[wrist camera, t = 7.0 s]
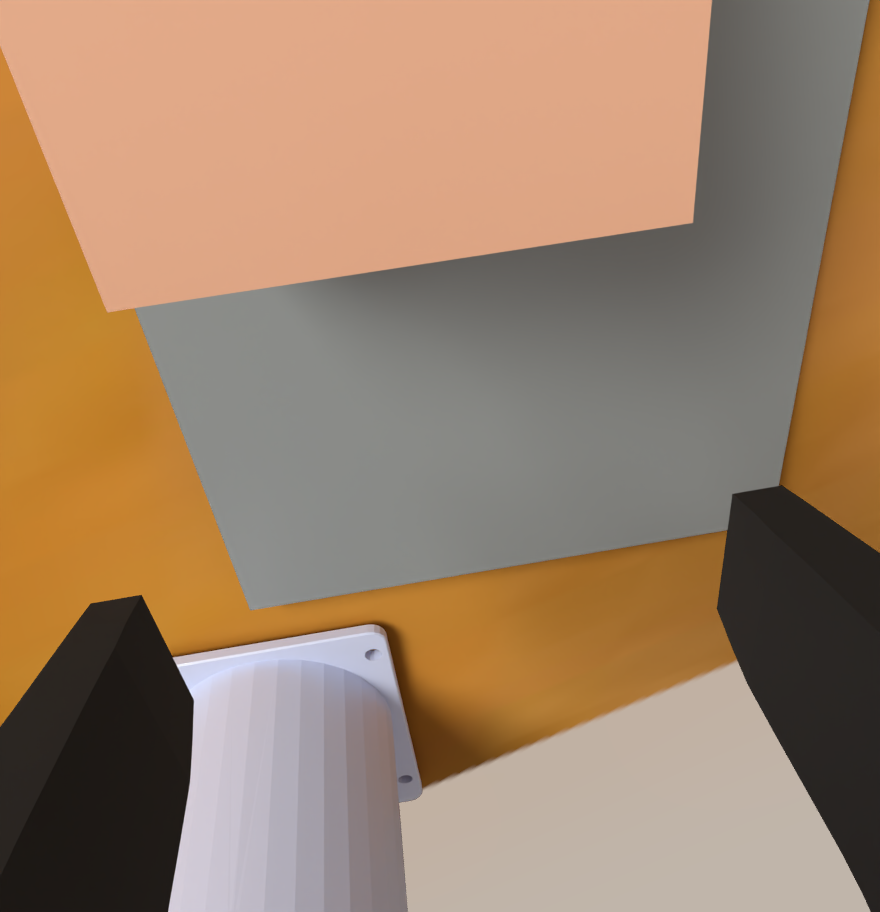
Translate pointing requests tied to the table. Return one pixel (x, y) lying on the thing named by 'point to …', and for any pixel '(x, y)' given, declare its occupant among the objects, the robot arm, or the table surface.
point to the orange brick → (353, 131)
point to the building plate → (532, 360)
